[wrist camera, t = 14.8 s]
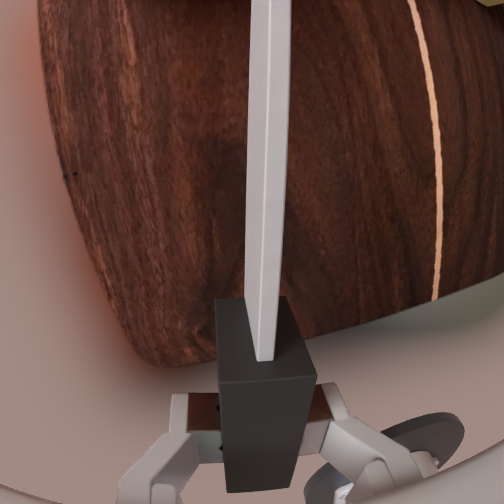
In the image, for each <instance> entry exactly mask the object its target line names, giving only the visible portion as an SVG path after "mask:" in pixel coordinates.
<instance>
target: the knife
mask: <svg viewBox="0 0 504 504" xmlns="http://www.w3.org/2000/svg"><path fill="white" fill-rule="evenodd" d="M290 58H291V0H252V2H251V34H250V68H249V106H248V146H247V190H246V239H245V295H244V297H245V298H220V299H215V322H216V346H217V368H218V386H219V403H220V417H221V431H222V444H223V457H224V467H225V480H226V490H227V493H240V492H254V491H265V490H274V489H282V488H288V487H289V486H290V483H291V480H292V476H293V473H294V469H295V465H296V462H297V458H298V455H299V451H300V447H301V443H302V439H303V436H304V432H305V428H306V423H307V419H308V415H309V411H310V407H311V402H312V398H313V394H314V389H315V384H316V380H317V373H316V370H315V368H314V365H313V363H312V360H311V358H310V355H309V353H308V351H307V348H306V345H305V343H304V340H303V338H302V335H301V333H300V330H299V328H298V325H297V323H296V320H295V318H294V315H293V313H292V310H291V308H290V305H289V303H288V301H287V298H286V296H279V288H280V274H281V260H282V244H283V228H284V211H285V192H286V172H287V151H288V126H289V97H290Z"/></svg>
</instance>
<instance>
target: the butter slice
mask: <svg viewBox="0 0 504 504" xmlns="http://www.w3.org/2000/svg"><path fill="white" fill-rule="evenodd" d="M477 1H478V2H480V3H482V4H484V5H485V6H487V7H489V6H493V5H497V4H502V3H504V0H477Z"/></svg>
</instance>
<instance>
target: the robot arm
mask: <svg viewBox="0 0 504 504" xmlns="http://www.w3.org/2000/svg"><path fill="white" fill-rule="evenodd" d="M316 453H320V455H321V456H322V457H323V458H324V459H326V460H327V461H328V462H329V463H330V464H331V465H332V466H333V467H335V468H336V469H337V470H338V471H339V472H340V473H341V474H343V475H344V476H345V477H346V478H347V479H349V480H350V481H351V483H349V484H347V485H345V486H342V487H340V488H338V489H337V490H336V491H335V494H334V504H504V439H503V440H502V441H500V442H498V443H497V444H495V445H493V446H491V447H489V448H488V449H486V450H484V451H482V452H480V453H478V454H476V455H475V456H473V457H471V458H469V459H467V460H464V461H462V462H460V463H458V464H456V465H454V466H452V467H450V468H448V469H445V470H443V471H441V472H439V471H438V469H437V465H438V464H439V460H438V458H437V457H431V454H430V453H429V452H428V451H417V452H412V453H410V451H409V449H407V448H405V447H404V446H402V445H400V444H399V443H397V442H395V441H394V440H392V439H390V438H389V437H387V436H385V435H384V434H382V433H380V432H379V431H377V430H376V429H374V428H372V427H371V426H369V425H368V424H366V423H364V422H363V421H361V420H360V419H358V418H357V417H351V416H350V414H349V412H348V409H347V407H346V405H345V403H344V400H343V398H342V396H341V394H340V392H339V390H338V387H337V385H336V384H335V383H334V382H332V383H325V384H319V385H318V384H317V385H315V389H314V394H313V398H312V402H311V407H310V411H309V415H308V419H307V423H306V428H305V432H304V436H303V439H302V443H301V447H300V451H299V455H298V456H301V455H309V454H316ZM200 463H201V464H202V463H224V457H223V444H222V431H221V417H220V403H219V393H173V395H172V400H171V412H170V423H169V432H168V433H165V432H164V433H163V434H162V435H161V436H160V437H159V439H158V440H157V441H156V442H155V443H154V444H153V445H152V446H151V447H150V448H149V449H148V450H147V451H146V452H145V453H144V454H143V455H142V456H141V458H140V459H138V461H137V462H136V463H135V464H134V465H133V466H132V467H131V468H130V469H129V470H128V471H127V472H126V473H125V474H124V475H123V476H122V477H121V478H120V481H119V488H118V495H117V503H116V504H183V503H182V500H181V498H180V495H179V493H180V492H181V491H182V489H183V488H184V486H185V485H186V483H187V482H188V480H189V479H190V477H191V476H192V474H193V473H194V471H195V470H196V469H197V467H198V466H199V464H200ZM0 504H61V503H57V502H53V501H50V500H46V499H42V498H39V497H36V496H33V495H30V494H27V493H24V492H20V491H18V490H15V489H12V488H9V487H7V486H4V485H1V484H0Z"/></svg>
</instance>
